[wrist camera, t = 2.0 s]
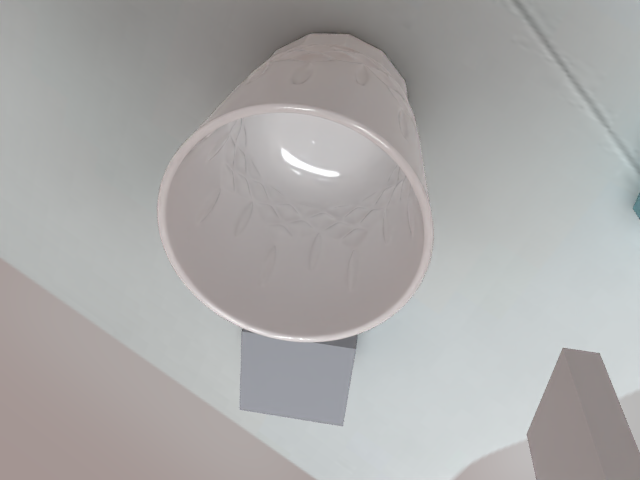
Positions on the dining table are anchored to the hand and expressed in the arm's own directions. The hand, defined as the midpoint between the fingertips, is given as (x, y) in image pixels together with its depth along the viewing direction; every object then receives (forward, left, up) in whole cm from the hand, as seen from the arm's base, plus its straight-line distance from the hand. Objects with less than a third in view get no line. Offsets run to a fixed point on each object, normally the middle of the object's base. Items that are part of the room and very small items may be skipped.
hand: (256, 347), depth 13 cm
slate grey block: (+11, 0, -14) cm, 18 cm away
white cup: (0, 0, -15) cm, 15 cm away
